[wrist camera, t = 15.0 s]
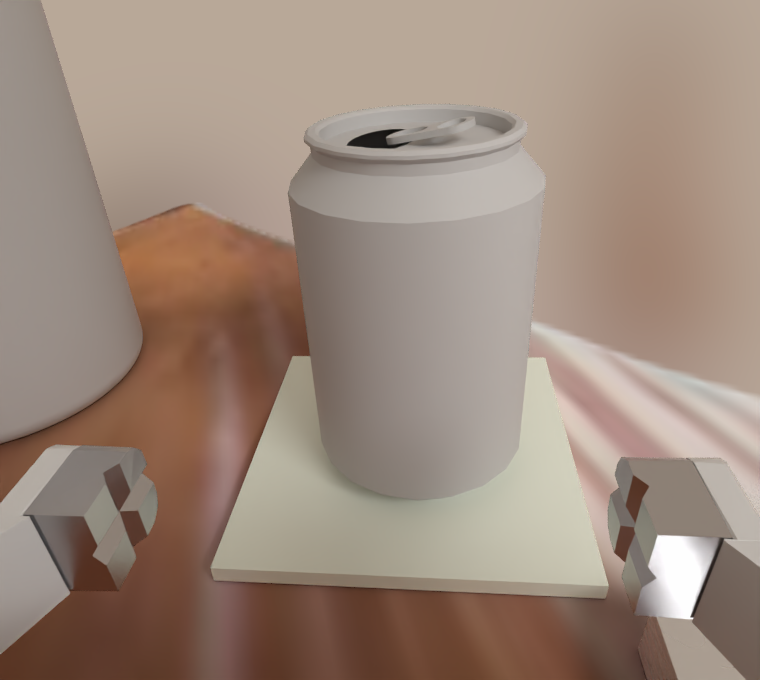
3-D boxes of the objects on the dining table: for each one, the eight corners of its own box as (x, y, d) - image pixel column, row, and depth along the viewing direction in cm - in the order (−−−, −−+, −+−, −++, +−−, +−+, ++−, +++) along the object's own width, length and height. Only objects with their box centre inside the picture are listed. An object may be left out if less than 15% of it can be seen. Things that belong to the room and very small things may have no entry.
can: (371, 371, 27) (351, 92, 20) (536, 406, 24) (572, 95, 18) (286, 484, 21) (222, 142, 15) (491, 546, 18) (520, 159, 12)
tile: (213, 580, 18) (210, 568, 18) (294, 366, 28) (292, 356, 28) (605, 598, 17) (608, 586, 17) (543, 368, 27) (545, 357, 27)
